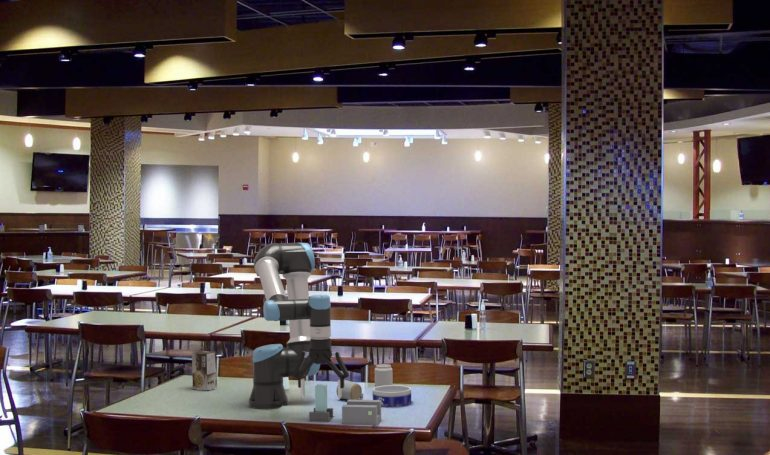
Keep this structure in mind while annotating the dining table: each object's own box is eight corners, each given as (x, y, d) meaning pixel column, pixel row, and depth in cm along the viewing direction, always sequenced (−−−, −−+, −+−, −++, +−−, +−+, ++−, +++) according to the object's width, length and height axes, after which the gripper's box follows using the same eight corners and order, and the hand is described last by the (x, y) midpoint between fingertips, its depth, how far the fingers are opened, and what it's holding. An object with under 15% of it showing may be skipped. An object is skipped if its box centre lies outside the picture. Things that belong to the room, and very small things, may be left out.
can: (372, 394, 350) (371, 365, 350) (378, 391, 357) (378, 363, 357) (388, 396, 347) (388, 366, 347) (395, 392, 354) (395, 364, 354)
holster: (307, 424, 300) (307, 412, 300) (313, 418, 309) (313, 407, 309) (329, 424, 299) (329, 413, 299) (334, 418, 308) (334, 407, 308)
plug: (315, 419, 302) (314, 386, 302) (317, 417, 306) (317, 384, 306) (325, 419, 302) (324, 386, 302) (327, 417, 305) (327, 384, 305)
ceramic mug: (351, 402, 335) (351, 383, 335) (335, 400, 340) (335, 381, 340) (368, 398, 343) (368, 379, 343) (353, 396, 348) (353, 377, 349)
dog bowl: (366, 406, 329) (366, 390, 329) (381, 398, 343) (380, 383, 343) (403, 409, 324) (403, 393, 324) (416, 400, 338) (416, 385, 338)
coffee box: (217, 388, 367) (217, 351, 367) (207, 391, 362) (206, 353, 362) (202, 387, 372) (202, 350, 372) (191, 389, 366) (191, 352, 366)
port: (341, 426, 295) (341, 406, 295) (348, 418, 308) (348, 399, 307) (375, 427, 293) (375, 407, 293) (381, 419, 306) (381, 400, 306)
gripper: (283, 339, 302) (284, 398, 302) (352, 339, 298) (353, 399, 298) (289, 336, 309) (290, 394, 309) (356, 336, 306) (357, 395, 305)
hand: (321, 397), depth 304 cm, fingers open, 13 cm apart
